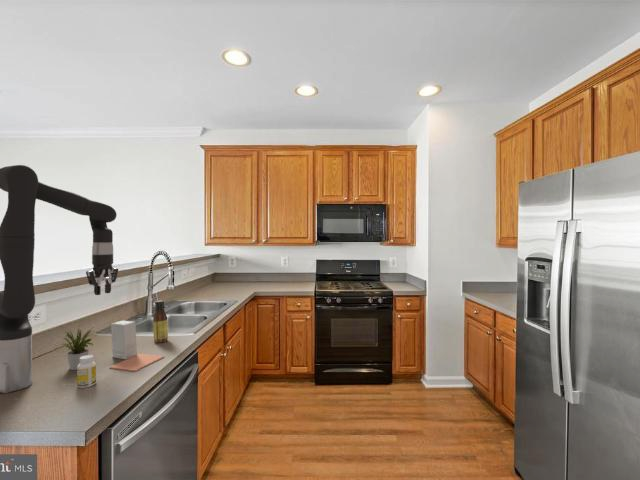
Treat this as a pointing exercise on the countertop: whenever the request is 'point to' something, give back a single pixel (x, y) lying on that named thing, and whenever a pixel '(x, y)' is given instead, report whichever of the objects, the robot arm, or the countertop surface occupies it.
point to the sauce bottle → (160, 323)
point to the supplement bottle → (86, 372)
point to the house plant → (76, 348)
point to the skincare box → (124, 339)
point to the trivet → (137, 362)
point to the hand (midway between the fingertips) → (102, 293)
